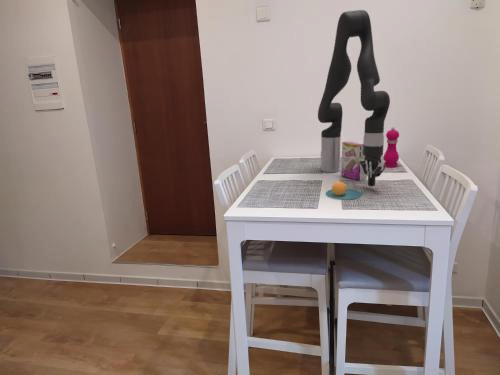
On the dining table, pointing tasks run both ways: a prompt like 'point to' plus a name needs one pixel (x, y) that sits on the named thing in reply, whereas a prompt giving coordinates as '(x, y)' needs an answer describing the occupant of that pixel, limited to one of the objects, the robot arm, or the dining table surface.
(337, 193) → the ball
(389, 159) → the pepper mill
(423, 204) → the dining table surface
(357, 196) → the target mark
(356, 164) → the candy bar box
